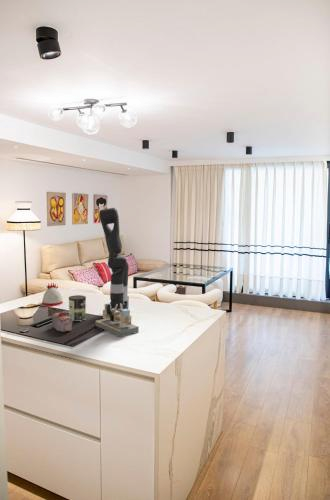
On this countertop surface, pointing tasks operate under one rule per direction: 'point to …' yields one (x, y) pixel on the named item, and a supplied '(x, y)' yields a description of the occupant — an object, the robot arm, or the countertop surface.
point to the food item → (61, 322)
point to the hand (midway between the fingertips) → (116, 320)
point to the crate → (125, 312)
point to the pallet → (118, 318)
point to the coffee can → (77, 307)
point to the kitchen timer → (52, 296)
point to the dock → (116, 327)
